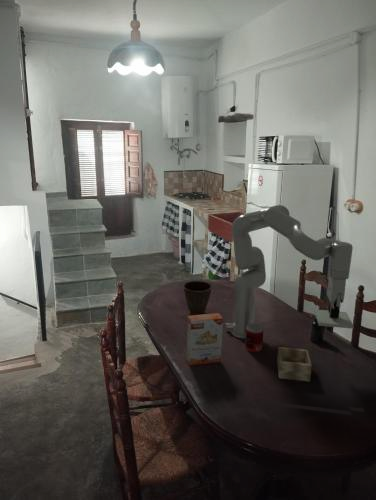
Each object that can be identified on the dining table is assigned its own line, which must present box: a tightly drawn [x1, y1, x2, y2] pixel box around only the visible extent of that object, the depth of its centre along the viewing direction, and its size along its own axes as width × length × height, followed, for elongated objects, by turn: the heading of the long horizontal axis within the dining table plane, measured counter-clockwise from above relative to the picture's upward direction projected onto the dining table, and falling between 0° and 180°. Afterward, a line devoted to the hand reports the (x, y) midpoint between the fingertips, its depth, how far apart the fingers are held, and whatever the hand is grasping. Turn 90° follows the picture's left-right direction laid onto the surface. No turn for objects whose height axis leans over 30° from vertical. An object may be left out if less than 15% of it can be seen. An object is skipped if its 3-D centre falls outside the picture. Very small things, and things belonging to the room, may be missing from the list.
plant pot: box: [183, 280, 212, 315], centre depth 210 cm, size 15×15×16 cm
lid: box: [314, 300, 355, 330], centre depth 157 cm, size 13×13×8 cm
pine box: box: [276, 346, 313, 382], centre depth 157 cm, size 12×12×8 cm
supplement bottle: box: [309, 315, 327, 344], centre depth 183 cm, size 7×7×12 cm
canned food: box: [244, 323, 264, 353], centre depth 174 cm, size 8×8×11 cm
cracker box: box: [186, 312, 224, 367], centre depth 163 cm, size 14×6×21 cm, turn 104°
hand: (333, 314), depth 158 cm, fingers closed on lid, 3 cm apart
